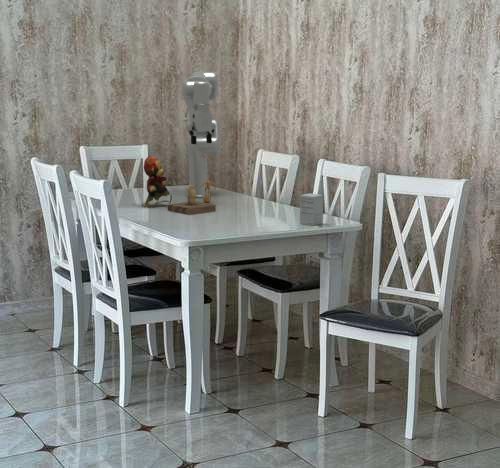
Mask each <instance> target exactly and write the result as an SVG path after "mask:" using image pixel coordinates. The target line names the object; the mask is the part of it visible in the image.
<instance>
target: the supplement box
mask: <svg viewBox="0 0 500 468" xmlns="http://www.w3.org/2000/svg"><path fill="white" fill-rule="evenodd" d="M299 196H300V197H299V224H300V225H305V226H311V225H313V226H318V225H321V224H323V222H324V221H323V220H324V218H323V217H324V213H323V212H324V208H323V207H324V195H323V194H318V193H311V192H309V193H304V194H301V195H300V194H299Z"/></svg>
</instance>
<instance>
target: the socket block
mask: <svg viewBox="0 0 500 468" xmlns="http://www.w3.org/2000/svg"><path fill="white" fill-rule="evenodd" d="M216 207H217V206H216V204H213V203H209V202H208V203H206V202H201V201H196V205H193V206H189V205H188V201H185V202H175V203H170V204H169V203H168V204H167V212H172V211H173V213H178V214H183V215H189V216H190V215H196V214H205V213H210V212H216V211H217V209H216Z"/></svg>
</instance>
